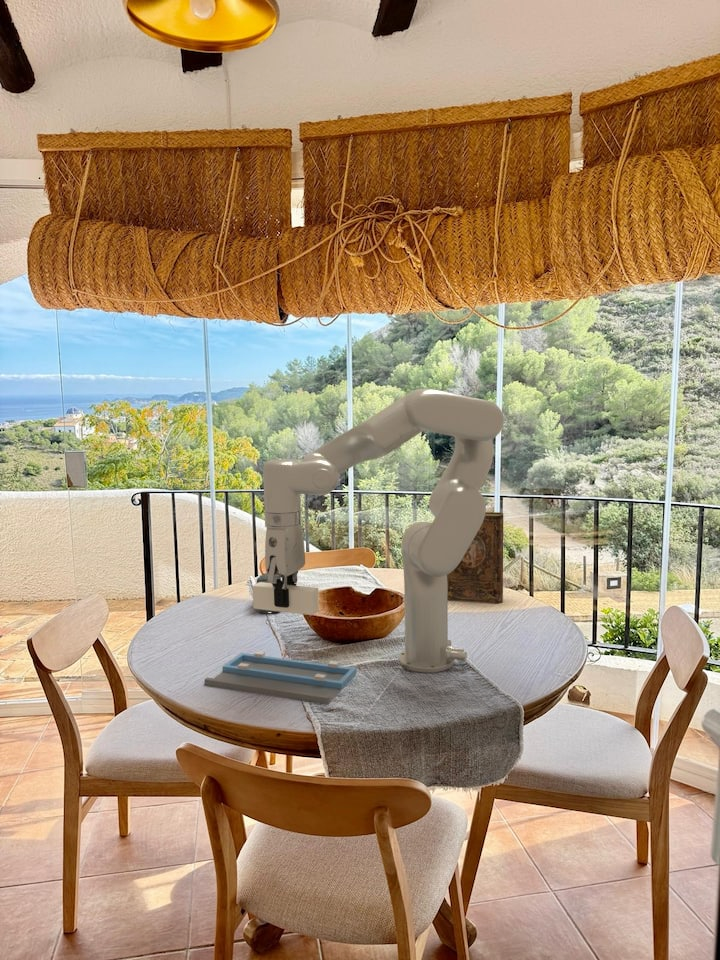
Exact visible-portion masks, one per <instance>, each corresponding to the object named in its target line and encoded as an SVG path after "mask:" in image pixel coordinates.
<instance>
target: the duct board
mask: <svg viewBox="0 0 720 960" xmlns="http://www.w3.org/2000/svg"><path fill="white" fill-rule="evenodd" d="M356 675H357V668H356V667H349V666H341V665H340V662H339V661H334V660H333V661H332V660H330V661H329V662H328V663H319V662H312V661H306V660H305V661H304V660H297V659H289V658H281V657H273V656H268V655H266V652H265V651H259V650H256V651H255V652H254V653H253V654H251V653H244V652H240V653H239V654H238V655H236V656H234V657H233V658H232V659H231V660H229V661H228V662H227V663H225V664H223V665H222V672H220V673H219V674H217V675H216V676H215V677H206V678H204V686H209V687H214V688H215V687H216V688H220V689H228V690H234V691H238V692H239V691H241V692H246V693H254V694H260V695H266V696H272V697H273V696H274V697H279V698H284V699H285V698H286V699H291V700H292V699H293V700H297V701H298V700H299V701H305V702H311V703H316V704H323V705H324V704H325V705H330V704H331V703H332V701H333V700H334V699H335V698H336V697H337V695H338V694H340V692H341V691H342V690H343V689H344V688H345V687H346V686H347V684H349V683H350V681H352V679H354V677H355V676H356Z"/></svg>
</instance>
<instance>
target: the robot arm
mask: <svg viewBox="0 0 720 960" xmlns="http://www.w3.org/2000/svg"><path fill="white" fill-rule="evenodd" d="M504 418H505V417H504V413H503V412H502V409H501V408H500V407H499V406H498V404H496V403H494V402H492V401H491V400H489V399H488V400H487V399H482V398H477V397H471V396H466V395H460V394H456V393H453V392H452V393H451V392H448V391H443V390H437V389H433V388H418V389H414V390H411V391H410V392H408V393H406V394H405V395H403V396H401V397H400V398H398V399H397V400H395V401H394V402H392V403H391V404H390V405H388V406H386V407H384V408H382V410H380V411H379V412H377V413H375V414H374V415H372V416H370V417H369V418H367V419H366V420H364V421H363V422H361V423H359V424H357V425H355V426H353V427H352V428H350V429H348V430H347V431H345V432H343V433H341V434H339V435H338V436H336V437H333V438H332V439H330V440H329V441H327V442H326V443H324V444H323V445H321V446H320V447H318V448H316V449H315V450H314V451H312V452H311V453H308V454H307V455H306V456H305V457H304V458H303V459H302V460H301V461H296V460H294V459H289V458H288V459H287V458H286V459H284V458H282V459H281V458H280V459H270V460H268V461H266V462H265V463H263V467H262V470H263V471H262V474H263V476H262V477H263V478H262V479H263V480H262V481H263V502H264V503H263V504H264V526H265V528H266V532H265V540H264V541H265V542H264V543H265V545H264V546H265V547H264V563H265V565H264V566H265V572H266V573H267V574H268V582H270V583H272V585H273V589H274V605H275V606H276V607H285V608H287V607H289V589H287V585H293V586H294V585H295V586H298V585H297V583H298V573H299V571H300V570H301V569H302V568H303V567H305V565H306V550H305V539H304V538H305V537H304V533H303V526H302V508H301V507H302V505H301V504H302V503H301V495H310V496H324V495H328V494H330V493H331V492H333V491H334V490H335V489H336V487H337V485H338V483H339V478H340V477H339V475H341V474H342V473H344V472H345V471H347V470H349V469H351V468H353V467H354V466H356V465H359V464H361V463H364V462H367V461H372V460H377V459H380V458H383V457H385V456H387V455H389V454H390V453H391V452H393V451H395V450H396V449H398V448H399V447H400V446H403V444H406V443H407V442H409V441H410V440H411V439H413V438H414V437H416V436H418V435H419V434H421V433H422V432H424V431H427V432H432V433H436V434H440V435H446V436H450V437H451V436H452V437H454V439H455V440H454V443H455V447H454V452H453V454H452V457H451V458H450V461H449V463H448V465H447V466H446V468H445V470H444V472H443V473H442V475H441V477H440V478H439V480H438V482H437V483H436V485H435V487H434V489H433V490H432V491H431V494H430V497H429V500H428V507H429V510H430V512H431V513H432V515H433V516H434V518H433V521H432V522H429V521H418V522H415V523H413V524H411V525H410V526H409V527H407V529H406V530H405V531H404V533H403V536H402V539H401V543H400V544H401V545H400V547H401V551H400V552H401V560H402V567H403V580H404V581H403V584H404V586H403V587H404V588H403V589H404V590H403V593H404V594H403V595H404V597H403V598H404V600H403V601H404V650H403V651H401V652H400V653H399V654H398V657H397V659H398V662H399V663H400V664H401V667H403V668H404V669H407V670H409V671H412V672H418V673H437V672H442V671H446V670H448V669H451V668H452V667H453V666H454V665H455V662H456V660H457V661H462V662H466V661H467V658H468V653H467V651H465V649H464V648H461V647H454V646H453V645H452V640H449V639H448V638H449V637H448V636H449V634H448V632H449V631H448V630H449V629H448V626H449V623H448V620H449V619H448V617H449V616H448V614H449V613H448V610H449V609H448V607H449V606H448V605H449V604H448V602H449V600H448V583H447V574H449V573H451V572H452V571H453V570H454V569H455V568H456V567H457V566H458V564H459V563H460V561H461V560H462V558H463V557H464V555H465V553H466V551H467V550H468V548H469V546H470V544H471V543H472V541H473V539H474V537H475V536H476V534H477V532H478V530H479V529H480V527H481V525H482V523H483V520H484V517H485V512H487V511H486V510H487V507H486V501H485V498H484V496H483V495H482V493H481V492H480V489H481V488H482V485H483V484H484V482H485V479H486V478H487V475H488V473H489V472H490V469H491V467H492V463H493V460H494V444H493V443H494V442H493V439H494V438H496V437H497V436H498V435H499V434H500V433H501V431H502V429H503V427H504V420H505V419H504ZM277 571H279V573H277ZM277 577H281V579H278V578H277Z"/></svg>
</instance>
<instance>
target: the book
mask: <svg viewBox="0 0 720 960" xmlns="http://www.w3.org/2000/svg"><path fill="white" fill-rule="evenodd" d="M447 583H448V601H455V602H465V603H466V602H468V603H469V602H470V603H482V604H483V603H484V604H497V605H499V604H501V603H503V600H504V513H503V512H498V511H497V512H493V511H486V512H485V517H484V520H483V523H482V525H481V527H480V529H479V530H478V532H477V534H476V536H475V537H474V539H473V541H472V543H471V544H470V546H469V548H468V550H467V551H466V553H465V555H464V557H463V558H462V560H461V561H460V563H459V564H458V566H457V567H456V568H455V569H454V570H453V571H452V572H451V573H449V574H447Z"/></svg>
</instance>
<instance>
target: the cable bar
mask: <svg viewBox="0 0 720 960" xmlns="http://www.w3.org/2000/svg"><path fill="white" fill-rule="evenodd" d="M256 583H257V582H256ZM256 583H255V584H253V585H252V605H253V606H252V607H253V608H252V609H255V610H258V609H262V610H271V611H277V612H281V613H289V614H291V613H292V614H297V615H306V616H307V615H308V616H315V614H316V613H318V612H319V611H320V607H319V606H320V603H319V602H320V601H319V587H314V586H304V585H297V586H295V585H294V586H293V585H287V589H289V607H287V608H285V607H276V606H275V605H274V589H273V585H272V583H264V582H259V583H257V584H256Z"/></svg>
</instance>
